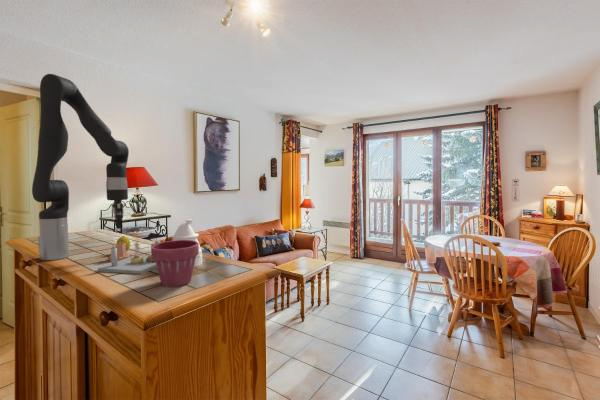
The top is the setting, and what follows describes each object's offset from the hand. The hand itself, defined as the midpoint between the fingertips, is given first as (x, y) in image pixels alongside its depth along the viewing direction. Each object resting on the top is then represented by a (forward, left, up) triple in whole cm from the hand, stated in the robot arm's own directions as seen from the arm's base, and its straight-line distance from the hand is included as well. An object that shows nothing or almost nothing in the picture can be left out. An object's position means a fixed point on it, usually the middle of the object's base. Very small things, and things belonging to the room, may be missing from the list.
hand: (118, 227), depth 125 cm
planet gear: (0, 0, -14) cm, 14 cm away
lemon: (-6, +9, -14) cm, 18 cm away
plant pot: (+40, -21, -14) cm, 47 cm away
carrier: (+14, -7, -14) cm, 21 cm away
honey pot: (+31, -1, -14) cm, 34 cm away
